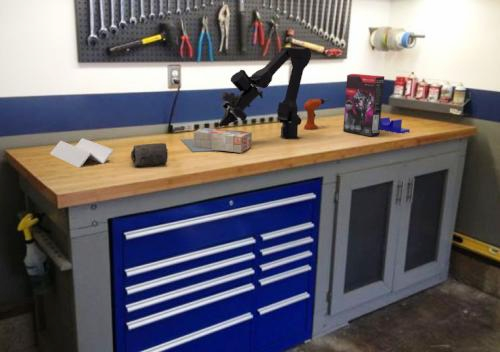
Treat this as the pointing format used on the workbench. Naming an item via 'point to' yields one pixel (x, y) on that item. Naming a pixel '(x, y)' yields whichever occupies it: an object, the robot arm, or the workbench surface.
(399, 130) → the mounting bracket
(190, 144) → the mat
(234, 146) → the stack of blocks
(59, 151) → the z bracket
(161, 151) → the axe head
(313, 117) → the toy drill
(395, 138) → the workbench surface
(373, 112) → the graphics card box
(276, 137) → the workbench surface
